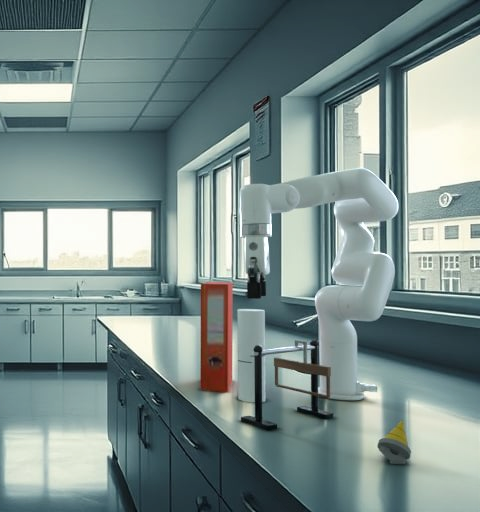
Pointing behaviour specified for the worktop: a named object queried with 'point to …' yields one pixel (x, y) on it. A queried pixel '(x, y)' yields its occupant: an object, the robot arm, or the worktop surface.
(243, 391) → the cylindrical container
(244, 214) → the robot arm
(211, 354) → the file binder
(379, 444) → the yellow grey cone
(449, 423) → the worktop surface
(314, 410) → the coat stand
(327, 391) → the brown clothes hanger
